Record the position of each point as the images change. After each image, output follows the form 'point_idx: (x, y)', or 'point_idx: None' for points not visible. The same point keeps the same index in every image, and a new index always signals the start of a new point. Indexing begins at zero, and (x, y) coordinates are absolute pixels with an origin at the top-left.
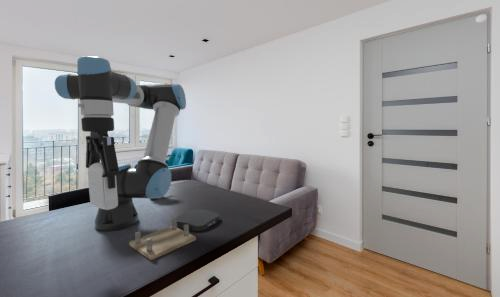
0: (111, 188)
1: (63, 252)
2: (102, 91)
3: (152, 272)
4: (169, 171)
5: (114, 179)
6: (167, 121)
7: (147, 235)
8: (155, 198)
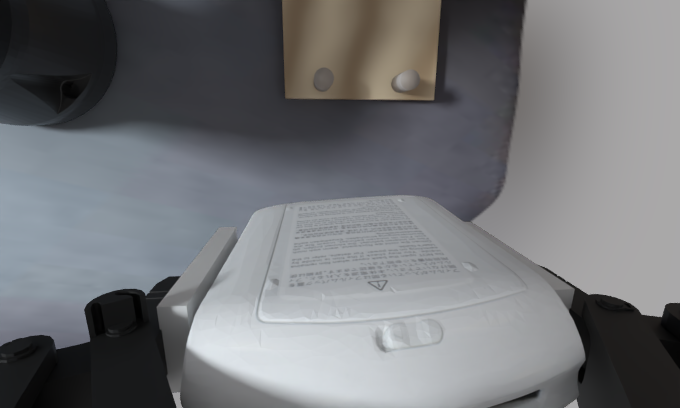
0: None
1: (182, 249)
2: None
3: (481, 127)
4: None
5: (583, 295)
6: None
7: (288, 26)
8: None
